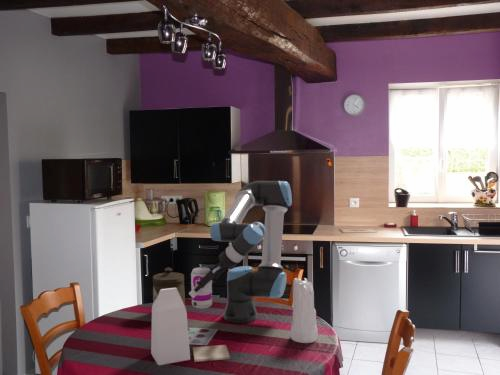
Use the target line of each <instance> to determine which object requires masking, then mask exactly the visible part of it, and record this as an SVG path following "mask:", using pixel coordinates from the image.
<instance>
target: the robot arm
mask: <svg viewBox="0 0 500 375" xmlns="http://www.w3.org/2000/svg"><path fill="white" fill-rule="evenodd" d="M291 189H292V188H291V185H290V183H289V182H288V181H285V180H254V181H253V182H249V183H247V184H246V185H244V186H243V187H241V188H240V189H239V190H238V192H237V193H236V195H235V197H234V201H233V203H232V205H230V207H229V209H228V210H227V212H226V214H224V215H225V216H224V217H223V218H222V219H221V221H220V222H213V223H212V224H211V225H210V231H209V233H210V238H211V240H212V241H215V242H229V243H228V246H227V247H226V248H225V249H224V250H223V251H222V252H221V253H220V254H219V255H218V260H219V262H217V263H216V264H215V265H214V266H213V267H212V268H211V269H210V271H209V272H208V273H207V274H206V275H205V276H204V277H203V278H202V279H201V280H200V281H197V285H196V286H195V287H194V288H193V289H192V290H191V291H189V292H188V295H189V296H190V297H191V299H192V298H194V297H195V296H196V295H197V294H198V293H199V292H200V291H201V290H202V289H203V288H204V286H205V285H206V284H208V283H209V282H210V281H211V280H212V284H213V283H216V282H218V280H217V279H219V278H220V277H221V276H222V274H223V273H224V272H225V271H226V270H228V271H227V273H226V274H227V276H226V277H227V278H226V291H227V297H226V298H227V302H226V305H225V309H224V313H223V318H224V321H226V322H229V323H235V324H247V323H251V322H253V321H256V320H257V319H258V312H257V309H256V306H255V303H254V298H268V299H279V298H281V297H282V296H283V295H284V292H285V290H286V286H287V272H285V271H284V267H283V266H282V265H281V262H282V260H281V259H282V248H283V247H282V246H283V244H282V243H283V234H284V233H283V231H284V221H285V220H284V219H285V218H284V216H285V214H286V213H287V211H288V208H289V207H291V206H292V204H293V197H292V196H293V194H292V190H291ZM254 206H262V210H263V211H264V212H265V215H264V217H265V218H264V224H263V223H262V222H260V221H254V222H251V223H242V222H243V220H244V219H245V217H246V215H247V214H248V211H249V210H250V209H252V208H253V207H254ZM261 241H262V252H261V253H262V254H261V263H260V264H259V265H258V266H257V270H254V268H253V267H252V266H250V265H244V266H243V265H242V266H237V265H238V264H239V263H241V261H242V260H243V259H244V258H245V257H246V256H247V255H248V254H249V253H250V252H251V251H253V249H254V248H255V247H256V246H257V245H258V244H259V243H260V242H261Z"/></svg>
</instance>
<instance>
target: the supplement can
mask: <svg viewBox="0 0 500 375" xmlns="http://www.w3.org/2000/svg"><path fill="white" fill-rule="evenodd" d="M210 270H211V269H210V268H209V267H207V266H204V267H203V266H200V267H195V268H194V267H193V269H192V271H191V273H190V279H191V280H190V286H191V287H190V288H191V290H192V289H193V288H194V287H195V286H196V285H197V281H200V280H201V279H202V278H203V277H204V276H205V275H206V274H207V273H208V272H209V271H210ZM191 305H192V306H193V308H195V309H206V308H210V307H211V306H212V305H213V283H212V280H211V281H210V282H209V283H208V284H206V285H205V286H204V288H203V289H202V290H201V291H200V292H199V293H198V294H197V295H196V296H195V297H194V298H192V297H191Z"/></svg>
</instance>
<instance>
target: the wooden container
mask: <svg viewBox="0 0 500 375" xmlns="http://www.w3.org/2000/svg"><path fill="white" fill-rule="evenodd" d="M172 271H173V268H171V267H169V266H167V267H165V268H164V272H161V273H160V272H159V273H156V274H154V275H153V276H152V300H153V303H154V302H155V300H156V298H157V297H158V294H159V292H160V289H168V288H177V290H178V292H179V294H180V297H181V299H182V301H183V303H184V306H185V307H186V295H185V294H186V293H185V292H186V291H185V274H183V273H181V272H174V271H173V272H172ZM153 303H152V304H153Z"/></svg>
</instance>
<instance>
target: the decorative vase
mask: <svg viewBox="0 0 500 375" xmlns="http://www.w3.org/2000/svg"><path fill="white" fill-rule="evenodd" d="M314 294H315V292H314V288H313V282H311V281H308V278H306V277H304V280H302V278H297V277H295V278H293V282H292V324H291V325H290V338H291V340H292V341H294V342H297V343H302V344H310V343H314V342H316V341H317V340H318V339H319V337H318V336H319V335H318V334H319V333H318V332H319V330H318V326H317V310H316V309H315V302H314V301H315V295H314Z"/></svg>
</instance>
